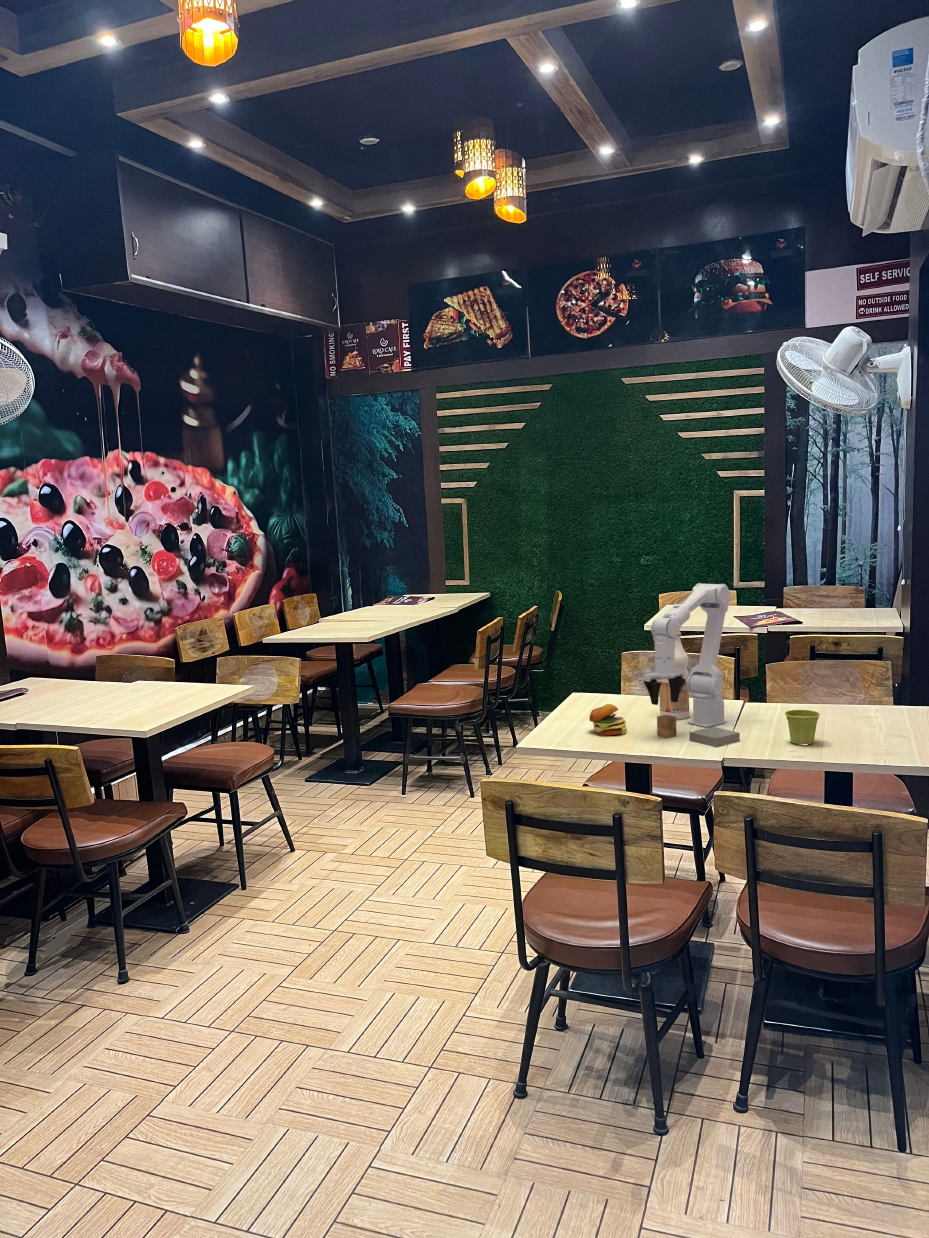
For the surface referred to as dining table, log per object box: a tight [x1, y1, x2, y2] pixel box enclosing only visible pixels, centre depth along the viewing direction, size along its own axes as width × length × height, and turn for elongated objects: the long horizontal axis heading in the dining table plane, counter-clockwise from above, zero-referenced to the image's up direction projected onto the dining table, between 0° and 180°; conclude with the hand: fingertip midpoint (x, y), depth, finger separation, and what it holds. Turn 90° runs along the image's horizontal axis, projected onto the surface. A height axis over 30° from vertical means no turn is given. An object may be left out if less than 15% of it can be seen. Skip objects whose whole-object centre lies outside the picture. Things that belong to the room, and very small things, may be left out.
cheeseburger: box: [588, 703, 628, 737], centre depth 275 cm, size 10×11×10 cm
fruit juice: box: [658, 631, 690, 721], centre depth 291 cm, size 9×9×28 cm
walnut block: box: [656, 715, 678, 740], centre depth 268 cm, size 4×4×6 cm
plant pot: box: [784, 709, 821, 745], centre depth 254 cm, size 9×9×9 cm
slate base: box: [688, 726, 741, 748], centre depth 261 cm, size 10×10×3 cm
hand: (664, 703), depth 267 cm, fingers open, 7 cm apart
